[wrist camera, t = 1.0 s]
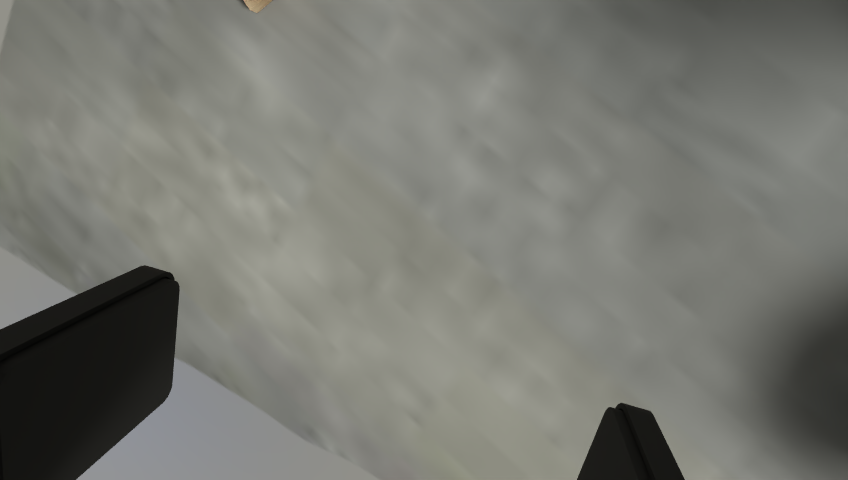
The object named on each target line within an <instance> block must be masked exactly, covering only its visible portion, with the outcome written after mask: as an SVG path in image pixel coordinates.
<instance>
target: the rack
mask: <svg viewBox="0 0 848 480" xmlns="http://www.w3.org/2000/svg"><path fill="white" fill-rule="evenodd" d="M271 1H272V0H244V2H245V3H246V5H247V6H248V8H249V9H250V10H251V11H253V12H256V13H258V12H259V11H260V10H262V9H263V8H264V7H265V6H266V5H268V4H269V3H270V2H271Z"/></svg>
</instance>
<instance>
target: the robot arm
mask: <svg viewBox="0 0 848 480" xmlns="http://www.w3.org/2000/svg"><path fill="white" fill-rule="evenodd" d="M178 302H179V284H178V282H177V281H174V276H173V275H172V274H171V273H170V272H166V271H163V270H159V269H156V268H153V267H149V266H145V265H144V266H140V267H138V268H136V269H134V270H131V271H129V272H127V273H125V274H123V275H120V276H118V277H116V278H114V279H111V280H109V281H107V282H105V283H103V284H100V285H98V286H96V287H94V288H91V289H89V290H87V291H85V292H83V293H80V294H78V295H76V296H74V297H71V298H69V299H67V300H65V301H63V302H61V303H58V304H56V305H54V306H51V307H49V308H47V309H45V310H43V311H40V312H38V313H36V314H34V315H32V316H29V317H27V318H25V319H23V320H21V321H18V322H16V323H14V324H12V325H9V326H7V327H5V328H3V329H0V480H76V479H77V478H78V477H79V476H80V475H81V474H83V473H84V472H85V471H86V470H87V469H88V468H90V467H91V466H92V465H93V464H94V463H95V462H96V461H97V460H98V459H100V458H101V457H102V456H103V455H104V454H105V453H106V452H108V451H109V450H110V449H111V448H112V447H113V446H115V445H116V444H117V443H118V442H119V441H120V440H121V439H122V438H124V437H125V436H126V435H127V434H128V433H129V432H130V431H131V430H133V429H134V428H135V427H136V426H137V425H138V424H139V423H140V422H142V421H143V420H144V419H145V418H146V417H147V416H148V415H150V413H152V412H153V411H154V410H155V409H156V408H157V407H159V406H160V405H161V404H162V403H163V402H164V401H165V400H166V398H167V397H168V395H169V393H170V391H171V388H172V380H173V367H174V354H175V341H176V328H177V315H178ZM577 480H685V479H684V477H683V475H682V473H681V471H680V469H679V467H678V465H677V463H676V461H675V459H674V457H673V454H672V452H671V450H670V448H669V446H668V444H667V442H666V440H665V438H664V436H663V434H662V432H661V430H660V428H659V426H658V424H657V422H656V420H655V418H654V415H653V414H652V413H651V411H648V410H645V409H641V408H638V407H634V406H631V405H627V404H624V403H620V404H618V405H617V406H616V408H612V407H609V408H607V410H606V411H605V413H604V416H603V418H602V420H601V423H600V425H599V428H598V430H597V432H596V435H595V437H594V440H593V442H592V445H591V447H590V449H589V452H588V454H587V457H586V459H585V461H584V464H583V466H582V469H581V471H580V474H579V476H578V478H577Z"/></svg>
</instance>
